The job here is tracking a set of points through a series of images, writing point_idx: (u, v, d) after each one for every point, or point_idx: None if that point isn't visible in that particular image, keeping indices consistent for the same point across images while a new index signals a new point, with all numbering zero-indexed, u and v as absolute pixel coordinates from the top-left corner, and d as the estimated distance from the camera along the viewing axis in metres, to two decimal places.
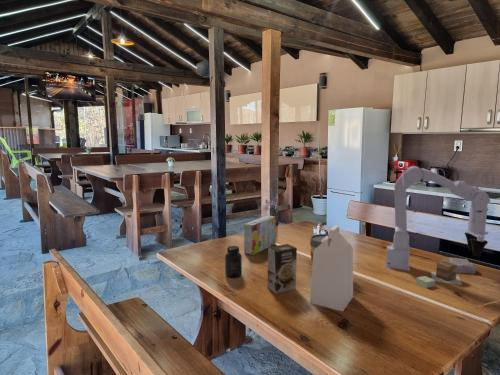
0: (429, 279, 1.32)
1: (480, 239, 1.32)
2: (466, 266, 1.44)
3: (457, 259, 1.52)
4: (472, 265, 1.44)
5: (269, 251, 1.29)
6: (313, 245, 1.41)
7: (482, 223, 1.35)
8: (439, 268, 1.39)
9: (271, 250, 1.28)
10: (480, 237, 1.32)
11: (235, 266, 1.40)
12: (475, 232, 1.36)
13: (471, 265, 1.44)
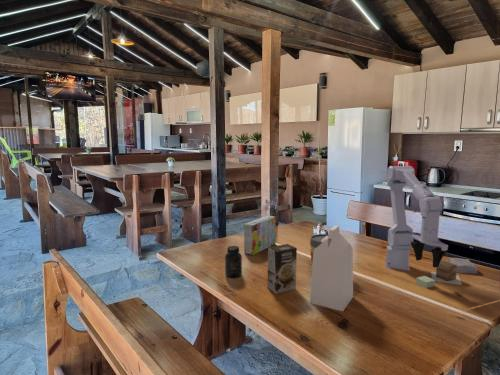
0: (429, 279, 1.32)
1: (445, 248, 1.24)
2: (468, 266, 1.44)
3: (458, 259, 1.52)
4: (474, 265, 1.44)
5: (269, 251, 1.29)
6: (313, 245, 1.41)
7: (437, 231, 1.28)
8: (439, 268, 1.39)
9: (271, 250, 1.28)
10: (445, 246, 1.24)
11: (235, 266, 1.40)
12: (433, 241, 1.28)
13: (473, 265, 1.44)
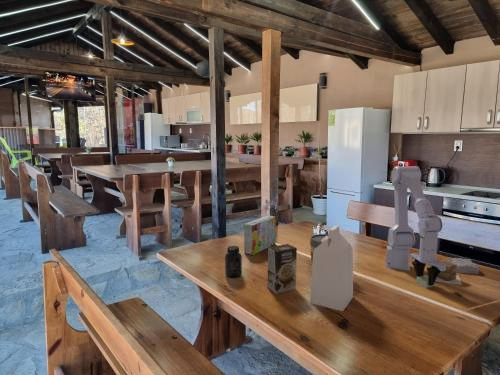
0: None
1: (443, 269, 1.25)
2: (469, 266, 1.44)
3: (460, 259, 1.52)
4: (475, 265, 1.44)
5: (269, 251, 1.29)
6: (313, 245, 1.41)
7: (436, 250, 1.29)
8: None
9: (271, 250, 1.28)
10: (443, 267, 1.25)
11: (235, 266, 1.40)
12: (431, 261, 1.29)
13: (474, 265, 1.44)
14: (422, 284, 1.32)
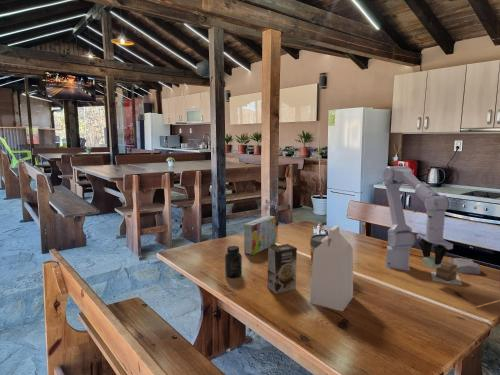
0: None
1: (450, 247, 1.26)
2: (471, 266, 1.44)
3: (461, 259, 1.52)
4: (477, 265, 1.44)
5: (269, 251, 1.29)
6: (313, 245, 1.41)
7: (443, 229, 1.30)
8: (439, 268, 1.39)
9: (271, 250, 1.28)
10: (450, 245, 1.26)
11: (235, 266, 1.40)
12: (438, 240, 1.29)
13: (476, 265, 1.44)
14: (428, 264, 1.32)
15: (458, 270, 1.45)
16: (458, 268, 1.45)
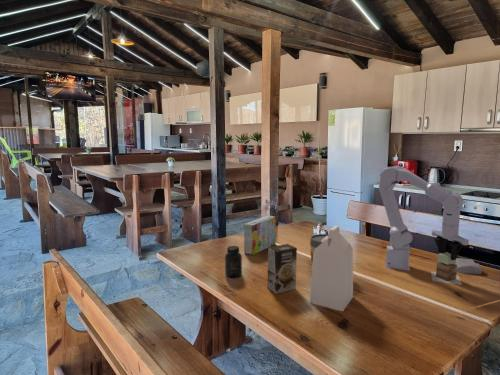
0: None
1: (466, 243, 1.30)
2: (472, 266, 1.44)
3: (462, 259, 1.52)
4: (478, 265, 1.44)
5: (269, 251, 1.29)
6: (313, 245, 1.41)
7: (458, 226, 1.34)
8: (439, 268, 1.39)
9: (271, 250, 1.28)
10: (466, 241, 1.30)
11: (235, 266, 1.40)
12: (454, 236, 1.34)
13: (477, 265, 1.44)
14: (444, 260, 1.37)
15: (459, 270, 1.45)
16: (459, 268, 1.45)
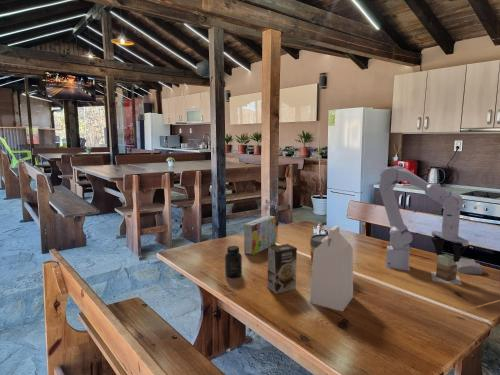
0: (450, 257, 1.37)
1: (466, 244, 1.30)
2: (473, 266, 1.44)
3: (463, 259, 1.52)
4: (479, 265, 1.44)
5: (269, 251, 1.29)
6: (313, 245, 1.41)
7: (458, 227, 1.34)
8: (439, 268, 1.39)
9: (271, 250, 1.28)
10: (466, 242, 1.30)
11: (235, 266, 1.40)
12: (454, 237, 1.34)
13: (478, 265, 1.44)
14: (443, 262, 1.37)
15: (460, 270, 1.45)
16: (460, 268, 1.45)
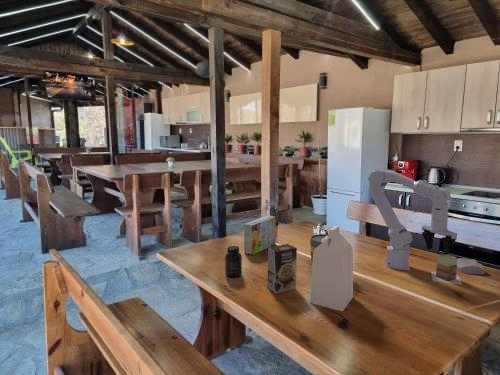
0: (450, 257, 1.37)
1: (455, 236, 1.33)
2: (475, 267, 1.43)
3: (465, 260, 1.52)
4: (481, 266, 1.44)
5: (269, 251, 1.29)
6: (313, 245, 1.41)
7: (447, 220, 1.37)
8: (439, 268, 1.39)
9: (271, 250, 1.28)
10: (455, 235, 1.33)
11: (235, 266, 1.40)
12: (443, 230, 1.37)
13: (480, 266, 1.43)
14: (443, 262, 1.37)
15: (462, 270, 1.45)
16: (462, 268, 1.45)
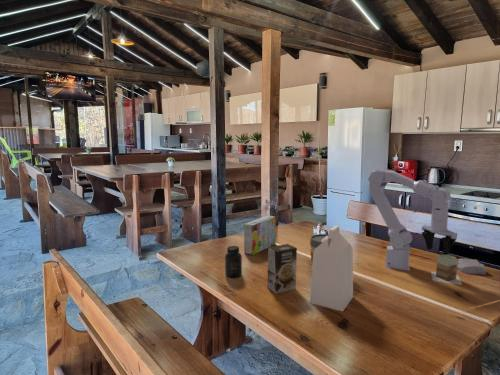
0: (450, 257, 1.37)
1: (455, 236, 1.33)
2: (477, 267, 1.43)
3: (466, 260, 1.52)
4: (483, 266, 1.43)
5: (269, 251, 1.29)
6: (313, 245, 1.41)
7: (447, 220, 1.37)
8: (439, 268, 1.39)
9: (271, 250, 1.28)
10: (455, 235, 1.33)
11: (235, 266, 1.40)
12: (443, 230, 1.37)
13: (482, 266, 1.43)
14: (443, 262, 1.37)
15: (464, 270, 1.45)
16: (464, 268, 1.45)
